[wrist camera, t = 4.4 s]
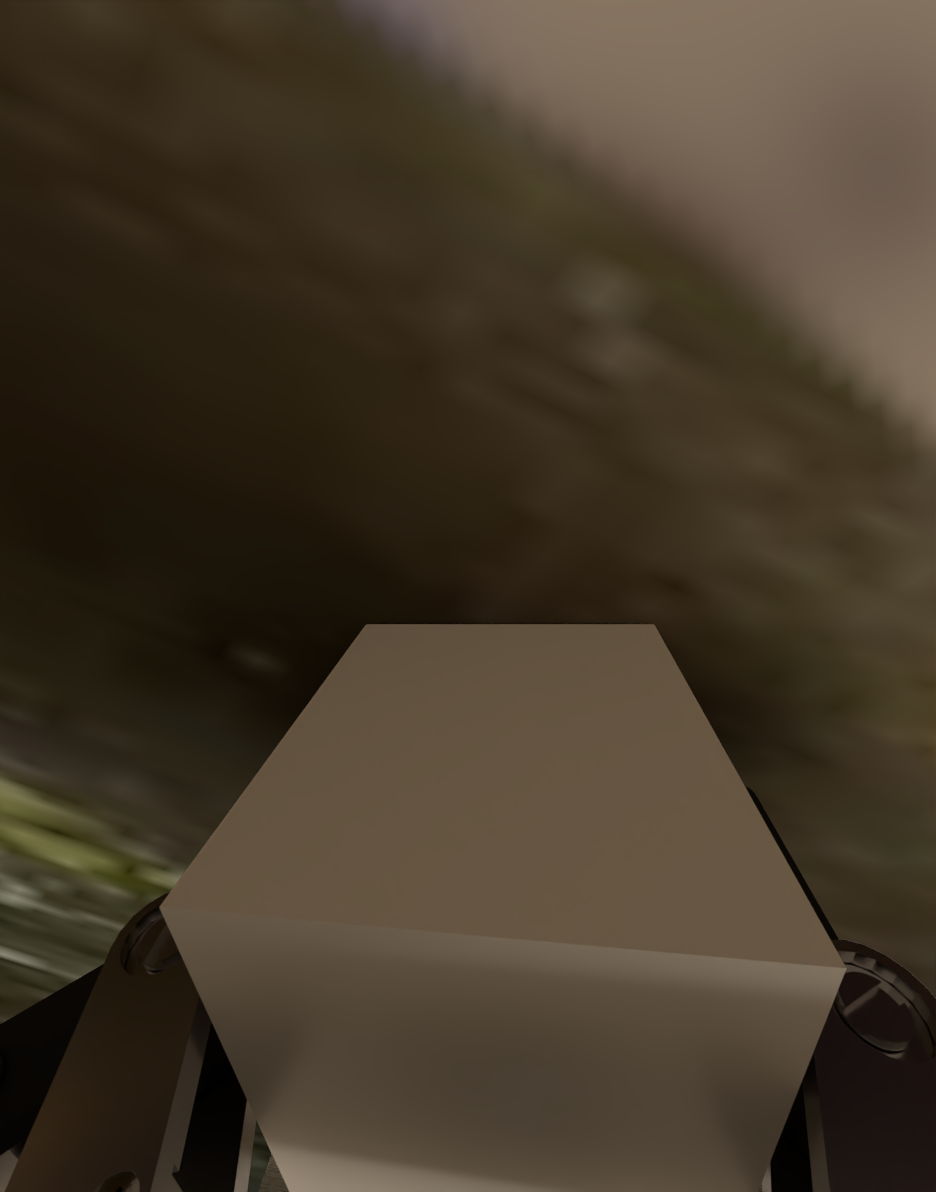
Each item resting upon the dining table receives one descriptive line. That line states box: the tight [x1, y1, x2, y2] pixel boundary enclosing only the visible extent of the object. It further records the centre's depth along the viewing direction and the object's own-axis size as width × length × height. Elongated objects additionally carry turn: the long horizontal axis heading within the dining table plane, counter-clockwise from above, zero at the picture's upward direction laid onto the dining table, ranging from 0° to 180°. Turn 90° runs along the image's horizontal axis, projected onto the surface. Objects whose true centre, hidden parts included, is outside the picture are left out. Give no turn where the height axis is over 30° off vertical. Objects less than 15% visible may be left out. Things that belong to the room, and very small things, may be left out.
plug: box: [159, 624, 847, 1192], centre depth 11 cm, size 21×6×6 cm, turn 3°
